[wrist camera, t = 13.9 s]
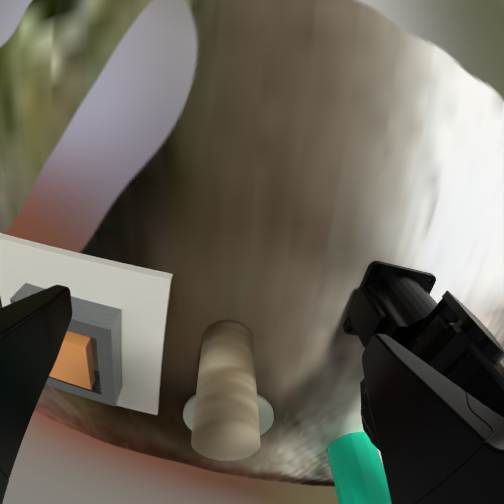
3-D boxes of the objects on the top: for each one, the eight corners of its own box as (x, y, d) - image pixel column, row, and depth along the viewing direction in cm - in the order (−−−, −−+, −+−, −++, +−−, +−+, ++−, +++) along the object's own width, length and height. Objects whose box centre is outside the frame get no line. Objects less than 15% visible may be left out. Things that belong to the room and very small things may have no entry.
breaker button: (90, 337, 22) (85, 347, 20) (95, 380, 24) (91, 389, 22) (37, 320, 21) (30, 329, 20) (46, 364, 23) (40, 372, 22)
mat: (285, 393, 28) (285, 397, 28) (260, 441, 32) (260, 445, 31) (188, 379, 27) (188, 384, 26) (180, 431, 30) (179, 435, 30)
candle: (372, 448, 34) (395, 522, 24) (328, 460, 35) (344, 537, 24) (374, 426, 32) (402, 509, 21) (325, 439, 32) (345, 527, 21)
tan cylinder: (258, 324, 25) (268, 431, 16) (246, 361, 26) (251, 463, 17) (207, 315, 24) (195, 422, 15) (199, 353, 26) (187, 456, 17)
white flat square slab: (172, 274, 23) (163, 299, 19) (158, 409, 29) (153, 435, 26) (-3, 232, 20) (-27, 248, 17) (22, 368, 27) (10, 388, 24)
